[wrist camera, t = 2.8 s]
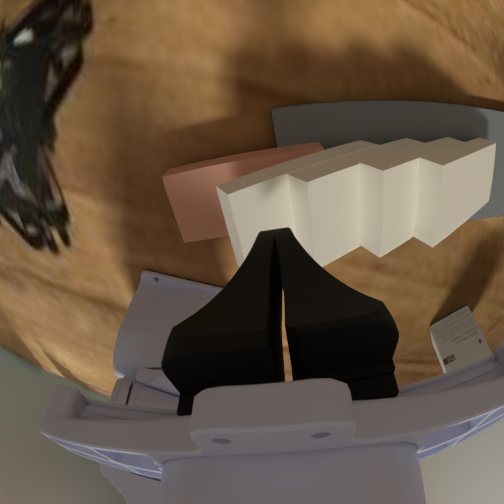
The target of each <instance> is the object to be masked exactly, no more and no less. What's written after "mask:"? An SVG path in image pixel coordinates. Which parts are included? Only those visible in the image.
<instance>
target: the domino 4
mask: <svg viewBox="0 0 504 504" xmlns="http://www.w3.org/2000/svg"><path fill="white" fill-rule="evenodd" d="M495 150H496V143H494V142H492V141H489V140H486V139H483V138H480V137H479V138H476V139H473V140H470V141H467V142H463V143H460V144H457V145H454V146H451V147H448V148H445V149H442V150H439V151H436V152H433V153H430V154H427V155H424V156H421V157H419V167H418V188H417V202H416V213H415V222H414V231H413V236H414V237H415V238H417V239H419V240H421V241H422V242H424V243H426V244H427V245H429V246H431V247H432V248H433V247H434V246H435V245H437V244H438V243H439V242H441V241H442V240H443V239H444V238H446V237H447V236H448V235H449V234H451V233H452V232H453V231H454V230H456V229H457V228H458V227H459V226H461V225H462V224H463V223H464V222H465V221H467V220H468V219H469V218H470V217H471V216H472V215H474V214H475V213H476V212H477V211H478V210H479V209H481V208H482V207H483V206H484V205H485V204H486V203H487V202H488V201H489V197H490V192H491V185H492V178H493V170H494V161H495Z"/></svg>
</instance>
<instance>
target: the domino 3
mask: <svg viewBox="0 0 504 504" xmlns="http://www.w3.org/2000/svg"><path fill="white" fill-rule="evenodd" d="M460 143H463V141H460V140H456V139H453V138H450V137H445V138H441V139H438V140H434V141H430V142H427V143H423V144H420V145H416V146H413V147H409V148H406V149H402V150H399V151H396V152H392V153H389V154H386V155H382V156H379V157H376V158H373V159H370V160H366V161H363V162H360V163H359V164H360V190H361V244H360V245H361V246H363V247H364V248H366V249H367V250H369V251H370V252H372V253H373V254H375V255H376V256H378V257H379V258H380V257H382V256H383V255H385V254H387V253H388V252H390V251H391V250H393V249H395V248H396V247H398V246H399V245H401V244H402V243H404V242H405V241H407V240H409V239H410V238H412V237H413V231H414V222H415V213H416V202H417V188H418V167H419V157H421V156H424V155H427V154H430V153H433V152H436V151H439V150H442V149H445V148H448V147H451V146H454V145H457V144H460Z"/></svg>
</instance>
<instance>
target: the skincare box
mask: <svg viewBox="0 0 504 504" xmlns="http://www.w3.org/2000/svg"><path fill="white" fill-rule="evenodd" d="M430 333H431V338H432V343H433V346H434V348H435V351H436V353H437V356H438V358H439V361H440V364H441V366H442V369H443V372H444V373H447V372H450V371H453V370H456V369H458V368H461V367H464V366H466V365H469V364H471V363H474V362H476V361H479V360H481V359H483V358H486V357H488V356H490V355H493V354H492V352H491V350H490V348H489V345H488V343H487V341H486V339H485V337H484V335H483V333H482V331H481V329H480V327H479V325H478V324H477V322H476V320H475V318H474V316H473V314H472V312H471V311H470V309H469V307H468V306H467V305H466V306H464V307H463V308H461V309H459V310H457V311H456V312H454V313H452V314H450V315H449V316H447V317H445V318H443V319H441V320H440V321H438V322H436V323H434V324H432V325H431V326H430Z"/></svg>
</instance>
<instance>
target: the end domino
mask: <svg viewBox="0 0 504 504" xmlns="http://www.w3.org/2000/svg"><path fill="white" fill-rule="evenodd" d="M322 150H324V148H323V147H322V145H321V144H320V143H319V142H315V143H306V144H298V145H291V146H284V147H277V148H270V149H264V150H258V151H252V152H246V153H240V154H235V155H230V156H225V157H220V158H215V159H210V160H205V161H201V162H196V163H192V164H187V165H183V166H179V167H175V168H171V169H168V170H167V171H166V173H165V174H164V175H163V176H162V180H163V184H164V187H165V190H166V193H167V196H168V199H169V201H170V204H171V207H172V210H173V213H174V216H175V219H176V222H177V224H178V227H179V230H180V233H181V236H182V238H183V241H184V243H188V242H194V241H201V240H207V239H213V238H220V237H226V236H229V233H228V229H227V226H226V222H225V218H224V215H223V211H222V207H221V204H220V200H219V196H218V193H217V189H216V186H217V185H220V184H222V183H225V182H228V181H230V180H233V179H236V178H239V177H242V176H244V175H247V174H250V173H253V172H256V171H259V170H262V169H265V168H268V167H271V166H274V165H277V164H280V163H283V162H286V161H289V160H293V159H296V158H299V157H302V156H306V155H309V154H312V153H316V152H319V151H322Z"/></svg>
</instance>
